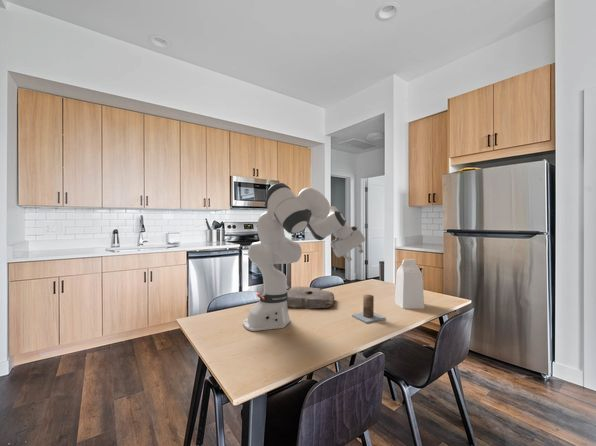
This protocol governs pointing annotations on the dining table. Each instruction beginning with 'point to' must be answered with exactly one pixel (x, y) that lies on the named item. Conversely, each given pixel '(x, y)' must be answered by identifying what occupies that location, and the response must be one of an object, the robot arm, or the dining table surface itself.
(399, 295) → the milk
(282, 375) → the dining table surface
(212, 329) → the dining table surface
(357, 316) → the mat
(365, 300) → the roller
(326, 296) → the stone slab
